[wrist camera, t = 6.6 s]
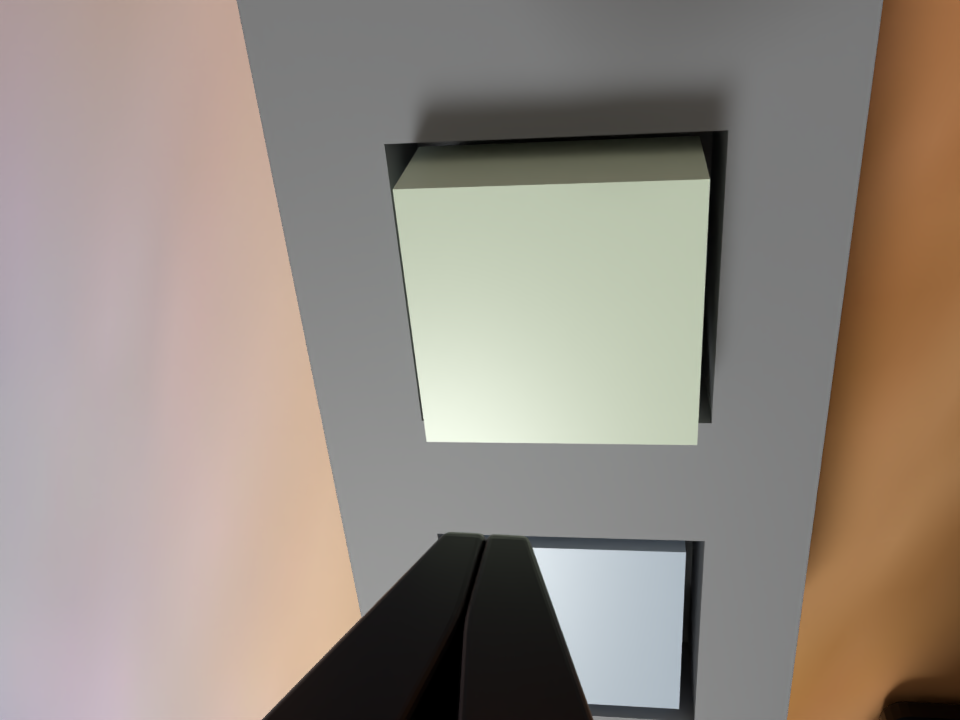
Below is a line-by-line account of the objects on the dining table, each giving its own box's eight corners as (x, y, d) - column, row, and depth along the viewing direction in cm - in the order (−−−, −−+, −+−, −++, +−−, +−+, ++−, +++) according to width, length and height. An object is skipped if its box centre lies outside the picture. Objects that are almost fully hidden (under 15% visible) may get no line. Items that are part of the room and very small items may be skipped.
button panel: (896, -630, 10) (988, -780, 8) (762, 633, 20) (782, 751, 18) (224, -522, 11) (111, -620, 9) (412, 618, 21) (383, 725, 19)
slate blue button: (679, 486, 17) (685, 552, 16) (674, 637, 19) (679, 709, 18) (470, 482, 18) (455, 545, 16) (485, 629, 20) (474, 697, 18)
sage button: (699, 136, 13) (710, 178, 11) (689, 379, 15) (697, 445, 13) (419, 146, 13) (392, 189, 12) (446, 379, 15) (427, 441, 14)
